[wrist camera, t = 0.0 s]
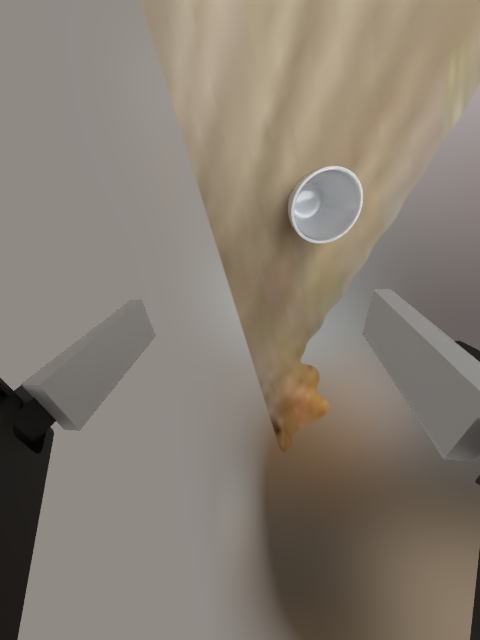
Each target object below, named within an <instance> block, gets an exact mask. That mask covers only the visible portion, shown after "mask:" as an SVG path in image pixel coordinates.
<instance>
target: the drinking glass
mask: <svg viewBox="0 0 480 640" xmlns="http://www.w3.org/2000/svg"><path fill="white" fill-rule="evenodd" d="M362 204H363V190H362V186H361V183H360V181H359V179H358V178H357V176H356V175H355V174H354V173H353V172H352V171H350V170H349V169H347V168H344V167H340V166H328V167H323V168H320V169H317V170H314V171H312V172H311V173H309V174H307V175H306V176H305V177H303V178H302V179H301V180H300V181H299V182H298V183H297V185H296V186H295V187H294V189H293V190H292V192H291V194H290V196H289V199H288V217H289V221H290V223H291V225H292V227H293V229H294V230H295V231H296V232H297V234H298V235H300V236H301V237H302V238H303V239H305V240H306V241H309V242H312V243H317V244H322V243H328V242H332V241H334V240H336V239H338V238H340V237H341V236H343V235H344V234H345V233H347V232H348V231H349V230H350V229H351V227H352V226H353V225H354V223H355V222H356V220H357V219H358V217H359V214H360V212H361V209H362Z"/></svg>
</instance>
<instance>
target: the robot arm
mask: <svg viewBox="0 0 480 640" xmlns="http://www.w3.org/2000/svg"><path fill="white" fill-rule="evenodd" d="M363 335H364V337H365V338H366V340H367V341H368V342H369V344H370V346H371V347H372V349H373V351H374V352H375V353H376V355H377V357H378V358H379V360H380V361H381V363H382V364H383V366H384V368H385V369H386V371H387V372H388V374H389V375H390V377H391V378H392V380H393V381H394V383H395V385H396V386H397V388H398V389H399V391H400V392H401V394H402V395H403V397H404V399H405V400H406V402H407V403H408V405H409V406H410V408H411V409H412V411H413V412H414V414H415V416H416V417H417V419H418V420H419V422H420V423H421V425H422V426H423V428H424V429H425V431H426V433H427V434H428V435H429V437H430V439H431V440H432V442H433V443H434V445H435V446H436V448H437V450H438V451H439V453H440V454H441V456H442V457H443V459H451V460H462V461H473V460H474V459H475V458H476V457H477V456H478V455H479V454H480V351H479V350H477V349H475V348H473V347H471V346H469V345H467V344H465V343H463V342H461V341H453V340H452V339H451V338H450V337H448V336H447V335H446V334H444V333H443V332H442V331H441V330H440V329H438V328H437V327H436V326H435V325H434V324H432V323H431V322H430V321H429V320H427V319H426V318H425V317H424V316H423V315H421V314H420V313H419V312H418V311H416V310H415V309H414V308H413V307H411V306H410V305H409V304H408V303H407V302H405V301H404V300H403V299H402V298H400V297H399V296H398V295H397V294H396V293H394V292H393V291H392V290H391V289H384V290H374V291H373V295H372V299H371V303H370V306H369V311H368V314H367V318H366V323H365V327H364V330H363ZM154 337H155V333H154V330H153V328H152V325H151V323H150V320H149V318H148V315H147V313H146V310H145V307H144V305H143V302H142V300H131V301H129V302H128V303H126V304H125V305H124V306H123V307H121V308H120V309H119V310H117V311H116V312H115V313H113V314H112V315H111V316H109V317H108V318H107V319H105V320H104V321H103V322H102V323H100V324H99V325H98V326H97V327H95V328H94V329H92V330H91V331H90V332H89V333H87V334H86V335H85V336H83V337H82V338H81V339H80V340H78V341H77V342H75V343H74V344H73V345H72V346H70V347H69V348H68V349H67V350H65V351H64V352H63V353H61V354H60V355H59V356H57V357H56V358H55V359H53V360H52V361H51V362H49V363H48V364H47V365H46V366H44V367H43V368H42V369H40V370H39V371H38V372H37V373H35V374H34V375H32V376H31V377H30V378H29V379H27V380H26V381H25V382H23V383H22V384H21V386H20V387H19V388H17V389H16V390H14V391H13V390H12V389H11V388H10V387H9V386H8V385H7V384H6V383H5V382H4V381H3V380H2V379H1V378H0V640H17V638H18V633H19V627H20V622H21V616H22V610H23V605H24V599H25V593H26V588H27V582H28V576H29V571H30V565H31V560H32V554H33V548H34V542H35V536H36V532H37V526H38V520H39V515H40V509H41V504H42V498H43V492H44V487H45V480H46V476H47V470H48V464H49V459H50V453H51V447H52V442H53V436H54V432H53V429H51V427H50V426H51V425H52V424H53V423H54V422H55V421H57V422H58V423H59V425H61V427H62V428H63V429H67V430H81V428H82V427H83V426H84V424H85V423H86V422H87V421H88V420H89V418H90V417H91V416H92V415H93V413H94V412H95V411H96V410H97V408H98V407H99V406H100V405H101V403H102V402H103V401H104V400H105V398H106V397H107V396H108V395H109V393H110V392H111V391H112V390H113V388H114V387H115V386H116V385H117V384H118V382H119V381H120V380H121V378H122V377H123V376H124V375H125V374H126V372H127V371H128V370H129V368H130V367H131V366H132V365H133V363H134V362H135V361H136V360H137V359H138V357H139V356H140V355H141V353H142V352H143V351H144V350H145V349H146V347H147V346H148V345H149V344H150V342H151V341H152V340H153V339H154ZM475 482H476V483H477V484H479V485H480V476H479V477H478V478H477V479H476V481H475ZM470 640H480V551H479V560H478V570H477V579H476V589H475V598H474V607H473V618H472V626H471V636H470Z"/></svg>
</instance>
